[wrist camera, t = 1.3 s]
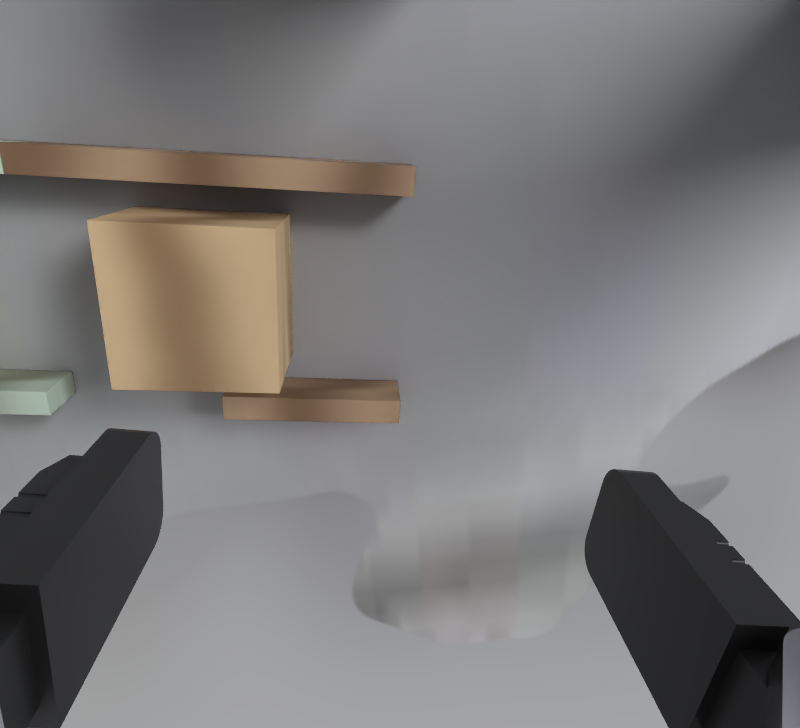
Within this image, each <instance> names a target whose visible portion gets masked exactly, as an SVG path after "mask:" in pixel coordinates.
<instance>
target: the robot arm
mask: <svg viewBox="0 0 800 728" xmlns="http://www.w3.org/2000/svg"><path fill="white" fill-rule="evenodd" d="M162 517H163V492H162V466H161V443H160V438H159V435H158V434H157V433H156V432H151V431H138V430H126V429H113V428H110V429H107V430H106V431H105V432H104V433H103V434H102V435H101V436H100V437H99V439H98V440H97V441H96V442H95V443H94V444H93V445H92V446H91V447H90V449H89V450H88V451H87V452H86V453H85V454H84V455H83V456H76V455H69V456H67V457H66V458H64V459H62V460H60V461H58V462H56V463H54V464H53V465H51V466H49V467H47V468H45V469H43V470H41V471H40V472H39V473H38V474H37V475H36V476H35V477H34V478H33V479H32V480H31V481H30V482H29V483H28V484H27V485H26V486H25V487H24V488H23V489H22V490H21V491H20V492H19V495H18V497H14V498H13V499H12V500H11V501H10V502H9V503H8V504H7V505H6V506H5V507H4V508H3V509H2V510H1V514H0V728H60V727H61V725H62V723H63V721H64V720H65V718H66V716H67V714H68V712H69V710H70V708H71V706H72V704H73V702H74V700H75V698H76V696H77V695H78V693H79V691H80V689H81V687H82V685H83V683H84V681H85V679H86V677H87V675H88V673H89V672H90V670H91V668H92V666H93V664H94V662H95V660H96V658H97V656H98V654H99V652H100V650H101V648H102V646H103V644H104V643H105V641H106V639H107V637H108V635H109V633H110V631H111V629H112V627H113V625H114V623H115V622H116V620H117V618H118V616H119V614H120V612H121V610H122V608H123V606H124V604H125V602H126V600H127V599H128V597H129V594H130V593H131V591H132V589H133V587H134V585H135V583H136V581H137V579H138V577H139V575H140V574H141V571H142V570H143V568H144V566H145V564H146V562H147V560H148V558H149V556H150V554H151V552H152V551H153V549H154V547H155V544H156V542H157V539H158V536H159V533H160V529H161V524H162ZM728 543H729V542H728V541H727V540H726V539H725V537H724V536H723V535H722V534H721V533H720V532H719V531H718V530H717V528H716V527H715V526H713V524H712V523H711V522H710V521H709V520H708V519H706V518H705V517H703V516H702V515H701V514H699V513H698V512H696V511H695V510H694V509H692V508H691V507H689V506H688V505H686V504H685V503H684V502H681V501H680V500H679V499H678V498H677V497H676V496H675V495H674V493H673V492H672V491H671V490H670V489H669V488H668V486H667V485H666V484H665V483H664V482H663V481H662V480H661V478H660V477H659V476H658V475H657V474H655V473H652V472H642V471H630V470H617V469H612V470H610V471H609V472H608V473H607V474H606V476H605V478H604V480H603V483H602V486H601V490H600V493H599V496H598V499H597V503H596V506H595V509H594V513H593V516H592V519H591V523H590V526H589V529H588V533H587V536H586V541H585V560H586V565H587V568H588V571H589V574H590V576H591V578H592V580H593V582H594V584H595V585H596V587H597V589H598V591H599V593H600V595H601V597H602V599H603V601H604V603H605V605H606V607H607V609H608V611H609V613H610V615H611V616H612V618H613V620H614V622H615V624H616V626H617V628H618V630H619V632H620V634H621V636H622V638H623V640H624V642H625V644H626V646H627V647H628V650H629V651H630V653H631V655H632V657H633V659H634V661H635V663H636V665H637V667H638V669H639V671H640V673H641V675H642V677H643V679H644V681H645V683H646V685H647V687H648V688H649V690H650V692H651V694H652V696H653V698H654V700H655V702H656V704H657V706H658V708H659V710H660V712H661V714H662V716H663V717H664V720H665V721H666V723H667V725H668V727H669V728H800V621H799V619H797V617H796V616H795V615H794V614H793V613H792V612H791V611H790V609H789V608H788V607H787V606H786V605H785V604H784V603H783V602H782V601H781V600H780V598H779V597H778V596H777V595H776V594H775V593H774V592H773V591H772V589H771V588H770V587H769V586H768V585H767V584H766V583H765V582H764V581H763V579H762V578H761V577H760V576H759V575H758V574H757V573H756V572H755V571H754V569H753V568H752V567H751V566H750V565H747V564H745V559H744V558H743V557H742V556H741V555H740V554H739V553H738V552H737V551H736V550H735V548H734V547H733V546H729V544H728Z"/></svg>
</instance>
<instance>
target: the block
mask: <svg viewBox="0 0 800 728" xmlns="http://www.w3.org/2000/svg"><path fill="white" fill-rule="evenodd" d="M87 226H88V233H89V239H90V246H91V253H92V260H93V266H94V273H95V280H96V287H97V294H98V300H99V307H100V314H101V321H102V327H103V334H104V341H105V348H106V354H107V361H108V368H109V375H110V381H111V388H112V390H152V391H194V392H237V393H280V390H281V387H282V384H283V381H284V378H285V375H286V372H287V369H288V366H289V363H290V360H291V357H292V299H291V240H290V214H282V213H261V212H241V211H220V210H199V209H179V208H158V207H138V206H135V207H131V208H128V209H124V210H121V211H117V212H114V213H110V214H107V215H103V216H100V217H96V218H93V219H89V220H87Z"/></svg>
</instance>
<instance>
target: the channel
mask: <svg viewBox="0 0 800 728" xmlns="http://www.w3.org/2000/svg"><path fill="white" fill-rule="evenodd" d="M415 171H416V167H415V166H413V165H410V164H394V163H377V162H361V161H344V160H328V159H311V158H295V157H278V156H262V155H245V154H229V153H212V152H196V151H179V150H163V149H146V148H130V147H113V146H97V145H80V144H64V143H47V142H31V141H14V140H0V174H14V175H31V176H49V177H67V178H85V179H103V180H121V181H139V182H157V183H175V184H192V185H210V186H228V187H246V188H264V189H282V190H300V191H318V192H336V193H353V194H371V195H389V196H407V197H414V186H415ZM74 394H75V387H74V381H73V375H72V371H42V370H7V369H0V414H19V415H51V414H52V413H53V412H55V411H56V410H57V409H58V408H59V407H60V406H61V405H62V404H64V403H65V402H66V401H67V400H68V399H69V398H70V397H72V396H73V395H74ZM222 402H223V417H224V419H238V420H281V421H325V422H369V423H399V414H400V396H399V389H398V382H397V381H386V380H352V379H317V378H284V381H283V384H282V387H281V390H280V393H237V392H224V394H223V396H222Z"/></svg>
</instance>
